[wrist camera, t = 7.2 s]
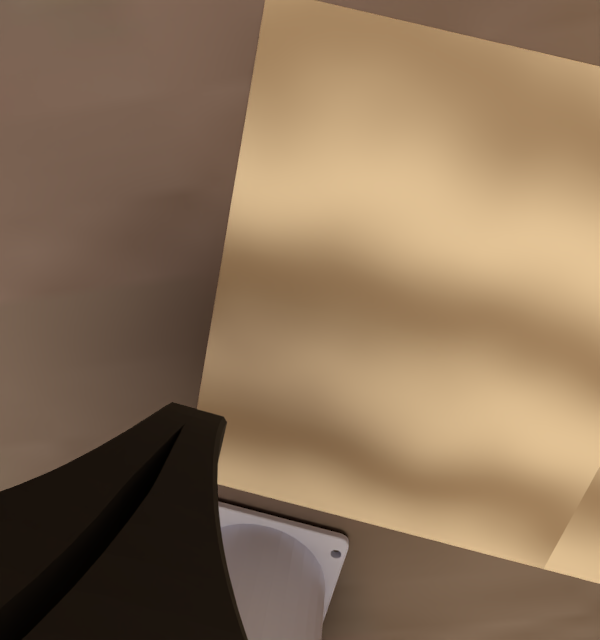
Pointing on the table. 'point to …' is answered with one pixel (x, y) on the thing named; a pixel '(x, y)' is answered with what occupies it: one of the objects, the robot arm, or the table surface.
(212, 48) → the table surface
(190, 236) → the table surface
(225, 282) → the deck
